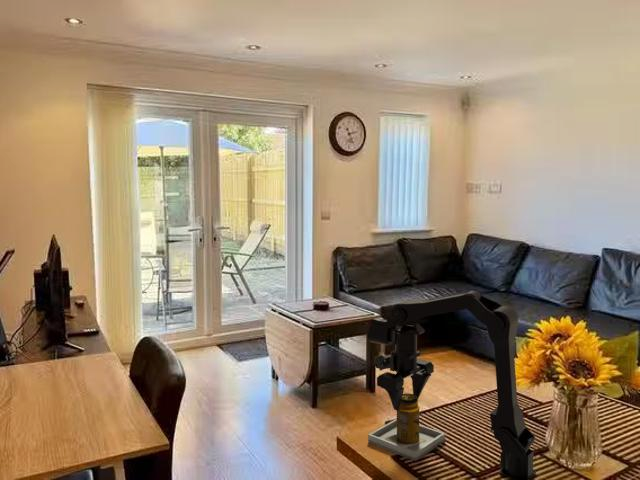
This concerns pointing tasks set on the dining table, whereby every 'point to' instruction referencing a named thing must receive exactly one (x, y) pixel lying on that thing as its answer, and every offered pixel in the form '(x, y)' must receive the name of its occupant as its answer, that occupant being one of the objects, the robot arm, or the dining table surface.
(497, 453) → the dining table surface
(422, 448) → the tray
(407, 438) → the condiment
